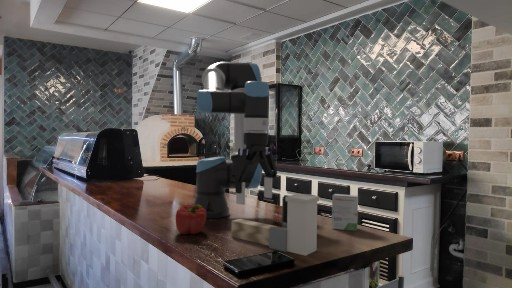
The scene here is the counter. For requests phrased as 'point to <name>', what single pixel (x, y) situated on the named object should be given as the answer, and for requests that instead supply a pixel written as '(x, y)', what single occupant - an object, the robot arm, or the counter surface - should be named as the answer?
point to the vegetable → (190, 219)
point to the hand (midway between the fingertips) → (254, 200)
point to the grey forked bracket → (297, 226)
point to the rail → (251, 231)
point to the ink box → (344, 212)
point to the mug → (284, 209)
